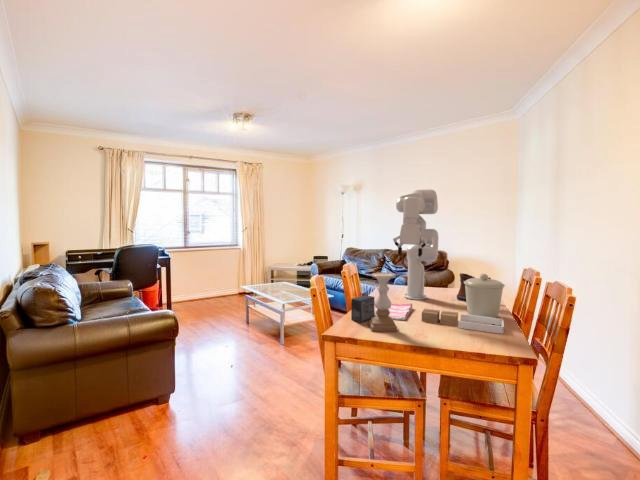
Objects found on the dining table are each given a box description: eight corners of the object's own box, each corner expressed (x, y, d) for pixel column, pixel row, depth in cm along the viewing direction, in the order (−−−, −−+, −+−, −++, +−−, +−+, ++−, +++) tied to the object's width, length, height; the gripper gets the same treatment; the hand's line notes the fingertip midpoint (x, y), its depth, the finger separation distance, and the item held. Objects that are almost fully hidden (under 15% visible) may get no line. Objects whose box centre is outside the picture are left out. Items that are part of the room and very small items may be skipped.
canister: (507, 316, 173) (509, 273, 171) (496, 324, 160) (498, 278, 158) (469, 309, 185) (471, 269, 183) (456, 316, 172) (458, 274, 170)
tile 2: (442, 319, 168) (442, 310, 167) (457, 321, 165) (458, 312, 164) (440, 324, 161) (440, 314, 161) (456, 326, 158) (456, 316, 158)
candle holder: (368, 323, 161) (369, 271, 159) (392, 323, 161) (393, 272, 159) (371, 331, 150) (372, 276, 148) (397, 332, 150) (398, 276, 148)
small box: (364, 315, 174) (364, 294, 173) (375, 318, 169) (375, 296, 169) (350, 319, 167) (350, 298, 166) (361, 323, 162) (361, 300, 161)
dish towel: (413, 309, 186) (413, 303, 186) (405, 322, 165) (405, 314, 165) (381, 306, 193) (381, 299, 193) (369, 317, 172) (370, 310, 172)
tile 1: (424, 317, 171) (424, 308, 171) (439, 319, 168) (439, 310, 168) (421, 321, 165) (421, 312, 165) (437, 323, 162) (437, 314, 162)
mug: (491, 300, 203) (492, 274, 202) (488, 304, 194) (489, 278, 193) (458, 296, 213) (459, 271, 212) (454, 300, 204) (454, 274, 203)
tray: (460, 319, 167) (461, 313, 167) (503, 325, 159) (503, 318, 159) (458, 327, 156) (458, 321, 155) (503, 334, 148) (504, 327, 147)
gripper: (429, 222, 176) (428, 256, 177) (395, 221, 184) (394, 254, 184) (427, 221, 169) (426, 257, 170) (391, 221, 177) (390, 255, 178)
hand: (409, 255), depth 177 cm, fingers open, 9 cm apart
